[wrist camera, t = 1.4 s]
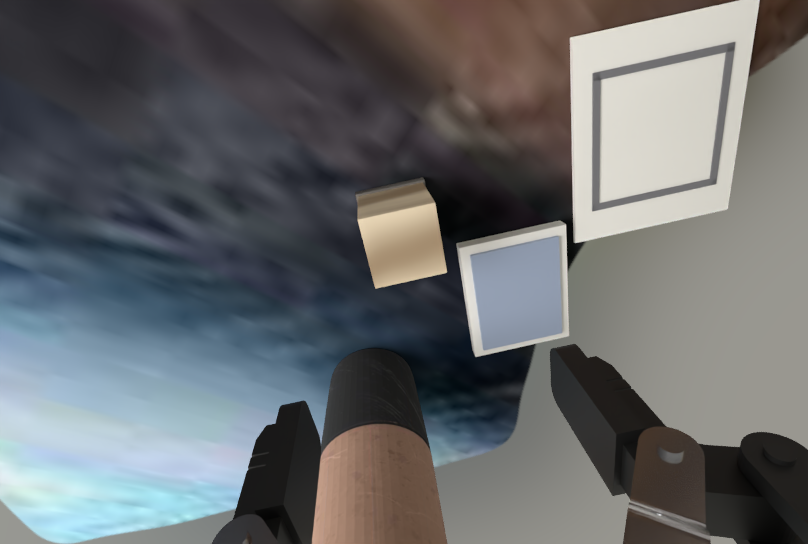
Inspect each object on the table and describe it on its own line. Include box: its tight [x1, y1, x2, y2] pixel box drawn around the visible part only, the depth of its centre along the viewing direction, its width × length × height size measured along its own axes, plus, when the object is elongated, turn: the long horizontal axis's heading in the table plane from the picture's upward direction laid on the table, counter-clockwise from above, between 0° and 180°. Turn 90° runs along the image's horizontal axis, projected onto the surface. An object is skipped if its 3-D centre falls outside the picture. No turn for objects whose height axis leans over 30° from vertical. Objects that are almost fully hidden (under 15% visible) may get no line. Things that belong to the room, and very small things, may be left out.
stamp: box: [355, 177, 447, 289], centre depth 27 cm, size 5×5×6 cm
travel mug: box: [312, 348, 447, 544], centre depth 27 cm, size 8×8×20 cm
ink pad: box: [456, 221, 569, 357], centre depth 32 cm, size 10×8×1 cm
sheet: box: [570, 0, 760, 243], centre depth 29 cm, size 14×12×1 cm
